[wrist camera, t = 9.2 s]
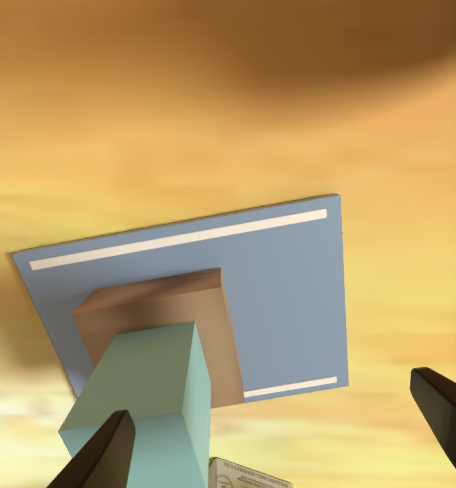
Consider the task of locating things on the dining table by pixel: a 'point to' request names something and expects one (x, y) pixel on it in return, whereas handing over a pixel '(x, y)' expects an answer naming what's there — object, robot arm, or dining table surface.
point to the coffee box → (240, 477)
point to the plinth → (169, 322)
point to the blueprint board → (235, 281)
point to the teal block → (152, 405)
